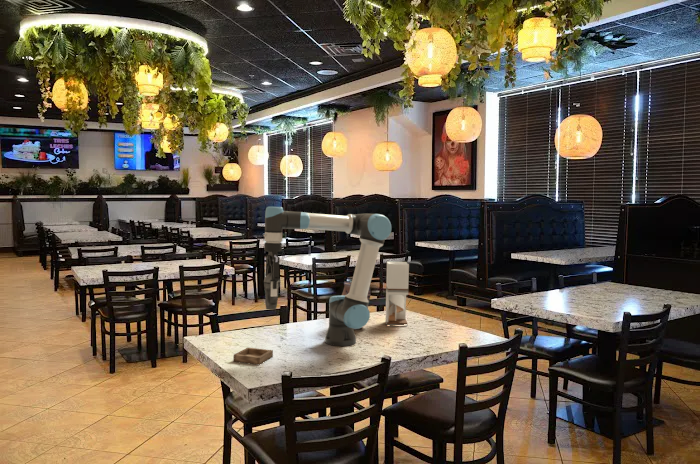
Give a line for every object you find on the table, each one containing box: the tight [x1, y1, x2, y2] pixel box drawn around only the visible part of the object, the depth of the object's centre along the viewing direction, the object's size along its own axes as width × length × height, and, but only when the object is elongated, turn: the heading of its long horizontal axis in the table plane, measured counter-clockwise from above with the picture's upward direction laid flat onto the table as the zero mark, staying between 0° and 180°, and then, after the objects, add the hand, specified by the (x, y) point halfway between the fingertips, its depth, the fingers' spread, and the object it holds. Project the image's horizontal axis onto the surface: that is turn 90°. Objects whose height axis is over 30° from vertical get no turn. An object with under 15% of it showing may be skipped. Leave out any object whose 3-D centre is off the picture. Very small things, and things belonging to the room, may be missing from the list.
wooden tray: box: [232, 347, 274, 366], centre depth 234 cm, size 12×12×3 cm
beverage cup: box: [263, 273, 281, 310], centre depth 235 cm, size 7×7×20 cm
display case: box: [385, 261, 410, 326], centre depth 306 cm, size 11×11×35 cm
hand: (271, 294), depth 235 cm, fingers closed on beverage cup, 7 cm apart
